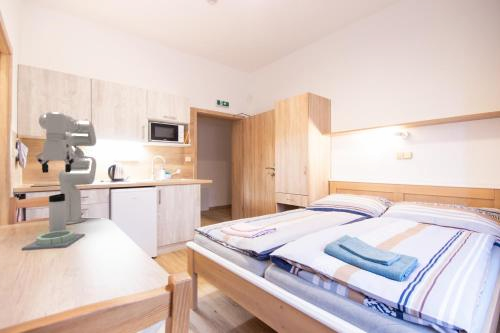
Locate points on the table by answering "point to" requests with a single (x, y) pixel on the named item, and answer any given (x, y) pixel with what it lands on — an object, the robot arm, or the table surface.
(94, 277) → the table surface
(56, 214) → the travel mug
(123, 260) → the table surface
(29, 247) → the cup dock
